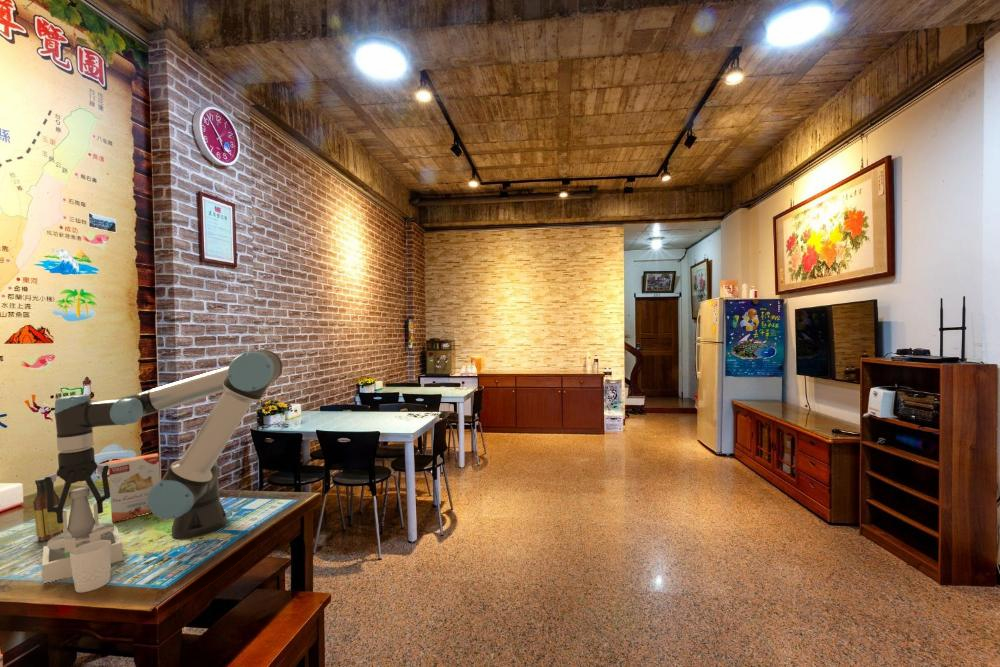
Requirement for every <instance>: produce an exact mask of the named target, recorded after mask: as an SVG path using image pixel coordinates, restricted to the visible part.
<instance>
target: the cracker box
mask: <svg viewBox="0 0 1000 667" xmlns="http://www.w3.org/2000/svg"><path fill="white" fill-rule="evenodd" d="M108 466H109V469H108V471H109V473H108V476H109V490H110V509H111V511H110V512H111V523H112V522H114V523H117V522H116V521H118V522H121V521H120V520H122V521H125V520H124V519H127V518H131V517H134V516H138V515H142V514H146V513H150V512H151V511H150V509H149V506H148V504H147V496H148V493H149V491H150V490H151V489H152V487H153V486H154V485H156V484H157V483H158V482H160V481H161V474H160V473H161V472H160V470H161V469H160V458H159V453H158V452H156V453H151V454H145V455H139V456H133V457H126V458H121V459H115V460H109V461H108ZM131 519H132V518H131ZM127 520H128V519H127Z"/></svg>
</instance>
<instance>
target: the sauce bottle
mask: <svg viewBox="0 0 1000 667" xmlns="http://www.w3.org/2000/svg"><path fill="white" fill-rule="evenodd" d="M44 478H45V476H43V477H39V478H36V479H35V480H34V481H35V482H34V483H35V485H36V493H37V494H36V495H35V497H34V500H33V501H32V502H33V515H34V522H35V530H36V531H35V532H36V537H37V540H38V541H39V542H43V541H46V540H47V541H49V540H50V539H51V538H53V537H55V536H57V535H59V534H61V533H64V527H63V523H60V524H58V523H57V513H56V512H47V484H46V482H45V481H44ZM59 500H60V496H59V495H58V494H57V492H56V490H54V498H53V506H58V503H59Z"/></svg>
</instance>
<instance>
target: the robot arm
mask: <svg viewBox="0 0 1000 667" xmlns="http://www.w3.org/2000/svg"><path fill="white" fill-rule="evenodd" d="M282 372H283V362H282V359H281V358H280V357H279V355H278V354H276V353H275V352H273V351H271V350H267V349H259V350H249V351H245V352H243V353H241V354H239V355H238V356H236V357H235V358H234V359H233V360H232V361H231V362H230V364H229V366H228V365H227V366H224V367H221V368H218V369H215V370H212V371H211V370H210V371H207V372H205V373H201V374H198V375H195V376H191V377H188V378H185V379H181V380H178V381H174V382H171V383H167V384H164V385H162V386H158V387H155V388H152V389H148V390H145V391H141V392H138V393H135V394H131V395H130V394H129V395H126V396H122V397H118V398H114V399H113V398H112V399H105V400H104V399H103V400H92V398H91V395H89V394H76V395H75V394H73V395H66V396H61V397H58V398H56V400H54V401H55V402H54V418H55V429H56V445H57V446H56V448H57V451H58V454H57V460H58V461H57V463H58V468H57V471H56V472H55V473H52V474H50V475H49V474H48V475H45V476H44V477H45V478H44V481H45V482H46V484H47V512H56V513H57V523H58V524H60V523H63V527H64V529H63V531H64V535H67V534H68V530H67V528H68V519H67V518H68V516H67V514H68V513H67V508H64V507H65V504H66V501H67V498H68V496H69V493H70V489H71V486H72V484H76V483H79V482H85V483H86V484H87V486H88V488H89V491H91V493H92V495H93V497H94V499H95V501H94V502H93V504H92V505H93V517H94V520H95V527H97V526H99V523H100V522H99V514H103V512H104V506H103V503H104V501H105V500H106V501H107V500H108V499H111V495H110V482H109V477H108V476H109V475H108V471H109V463H105V464H98V463H97V462H96V460H95V448H94V447H93V445H94V442H95V441H94V432H93V428H97V427H107V426H108V427H112V426H126V425H130V424H136V423H137V422H139V421H140V419H141V418H142V417H145V416H149V415H151V414H155V413H159V412H161V411H164V410H168V409H170V408H175V407H177V406H181V405H184V404H187V403H191V402H193V401H197V400H200V399H203V398H206V397H210V396H213V395H216V394H220V393H222V394H221V396H220V397H219V399H218V400H217V402H216V403H215V404H214V407H212V410H211V411H210V413H209V415H208V416H207V418H206V420H205V421H204V423H203V424H202V425H201V427H200V429H199V430H198V432H197V433H196V435H195V436H194V437H193V438H194V439H192V441H191V443H190V444H189V445H188V447H187V449H186V451H185V453H184V454H183V456H181V459H180V460H179V459H178V460H175V461H174V462H172V463H171V464H170V466H169V467H168V469H167V470H166V472H165V474H164V475H163V477H162V478H161V479H160V482H158V483H157V484H156V485H154V486H153V487H152V489H151V490H150V491H149V493H148V496H147V504H148V506H149V509H150V511H151V512H152V514H153V515H154V516H156V517H158V518H161V519H166V520H167V519H169V520H170V519H171V520H172V519H173V523H172V526H171V536H172V538H175V539H191V538H196V537H201V536H205V535H207V534H210V533H213V532H216V531H217V530H219V529H221V528H223V527H224V526H225V525H226V524H227V523H228V519H227V518H228V517H227V514H226V511H225V509H224V507H223V504H222V503H221V500H220V487H219V485H220V484H219V469H218V468H219V465H218V462H217V461H218V459H219V457H220V455H221V453H222V452H223V451H224V450H225V448H226V446H227V444H228V443H229V441H230V439H231V437H232V436H233V435H234V433H235V431H236V430H237V428H238V426H239V425H240V423H241V422H242V420H243V418H244V416H245V415H246V413H247V412H248V410H249V409H250V408H251V405H252V404H253V403H254V402H258V401H260V400H261V399H262V398H263V396H264V395H265V393H266V391H267V389H268V388H269V386H270V384H273V383H274V382H275V381H277V380H278V379H279V378H280V376H281V375H282ZM96 470H98V472H99V473H101V481H102V488H103V493H104V494H103V495H101V494H100V491H99V490H98V488H97V486H96V484H95V482H94V480H93V478H92V475H93V473H95V471H96ZM57 477H59V478H60V479H62V481H64V484H63V488H62V490H61V493H60V494H61V495H60V496H59V499H60V500H59V503H58V506H53V498H54V491H55V487H54V485H55V484H54V483H55V482H56V481H57Z"/></svg>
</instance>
